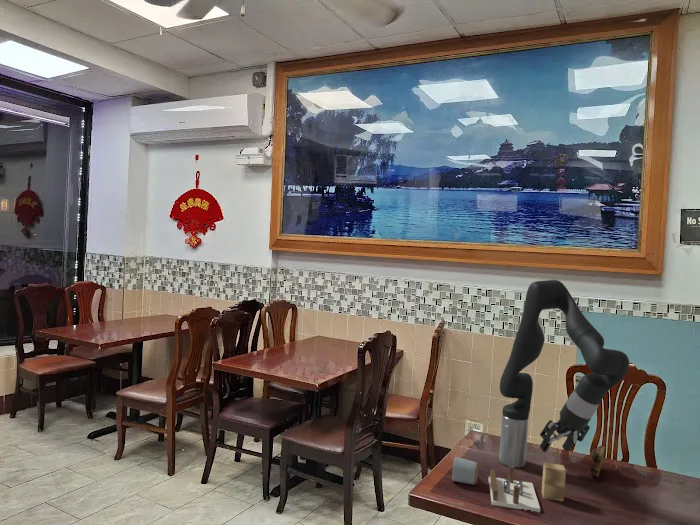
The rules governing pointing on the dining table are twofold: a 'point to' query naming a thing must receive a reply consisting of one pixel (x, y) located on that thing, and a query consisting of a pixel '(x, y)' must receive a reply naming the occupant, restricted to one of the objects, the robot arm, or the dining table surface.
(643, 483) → the dining table surface
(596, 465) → the wooden carving
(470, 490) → the dining table surface
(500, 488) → the peg stand
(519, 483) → the pegs
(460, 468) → the ceramic mug
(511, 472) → the walnut frame
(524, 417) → the robot arm
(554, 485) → the oak block
